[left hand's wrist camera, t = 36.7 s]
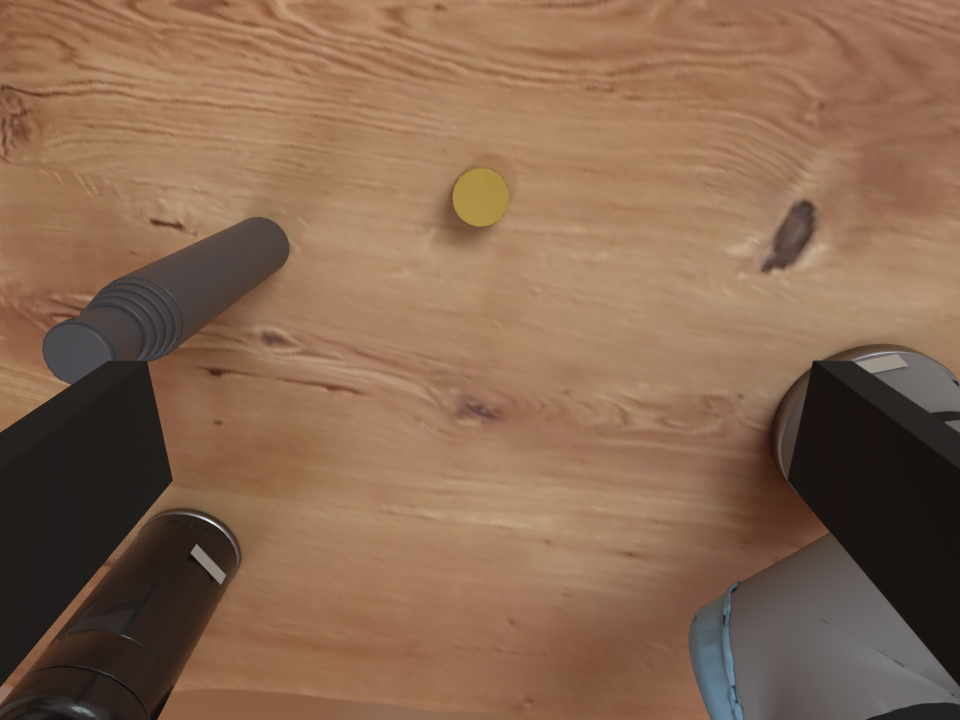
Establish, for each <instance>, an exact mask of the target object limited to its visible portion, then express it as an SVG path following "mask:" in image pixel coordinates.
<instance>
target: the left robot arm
mask: <svg viewBox="0 0 960 720" xmlns="http://www.w3.org/2000/svg"><path fill="white" fill-rule="evenodd" d="M771 448H772V454H773V458H774V461H775V464H776V466H777V468H778V470H779V472H780V473H781V475H782V476H783V477H784V479H785V480H786V481H787V482H788V483H789V485H790V486H791V487H792V488H793V489H794V491H795V492H796V493H797V494H798V495H799V496H801V498H802V499H803V500H804V501H805V502H806V504H807V505H808V506H809V507H810V508H811V510H812V511H813V512H814V513H815V514H816V516H817V517H818V518H819V519H820V520H821V522H822V523H823V524H824V525H825V526H826V527H827V529H828V530H829V531H830V533H828V534H826V535H825V536H823V537H821V538H819V539H817V540H816V541H814V542H812V543H810V544H809V545H807V546H805V547H803V548H801V549H800V550H798V551H796V552H794V553H793V554H791V555H789V556H787V557H785V558H784V559H782V560H780V561H778V562H776V563H775V564H773V565H771V566H769V567H768V568H766V569H764V570H762V571H760V572H759V573H757V574H755V575H753V576H751V577H750V578H748V579H746V580H744V581H743V582H739V581H738V582H736V583H734V584H732V585H731V586H730V587H729V588H728V590H727V592H725V593H724V594H722V595H721V596H719V597H718V598H716V599H715V600H713V601H711V602H710V603H708V604H707V605H705V606H704V607H702V608H701V609H699V610H698V611H697V613H696V614H695V615H694V617H693V619H692V622H691V625H690V631H689V651H690V657H691V662H692V666H693V670H694V674H695V677H696V681H697V684H698V687H699V690H700V693H701V695H702V698H703V701H704V703H705V706H706V708H707V711H708V714H709V716H710V718H711V720H960V382H959V381H958V379H957V378H956V377H955V375H954V374H953V373H952V372H951V371H950V370H948V369H947V368H946V367H945V366H943V365H942V364H940V363H938V362H937V361H935V360H933V359H931V358H930V357H928V356H926V355H924V354H922V353H920V352H918V351H916V350H913V349H910V348H907V347H903V346H898V345H890V344H876V345H867V346H861V347H857V348H853V349H849V350H847V351H844V352H841V353H839V354H836V355H834V356H832V357H830V358H828V359H826V360H824V361H813V364H812V368H811V370H810V371H808V372H807V373H806V374H805V375H804V376H803V377H802V378H801V379H800V380H799V381H798V382H797V383H796V384H795V385H794V386H793V387H792V389H791V390H790V391H789V392H788V394H787V395H786V397H785V398H784V400H783V401H782V403H781V405H780V407H779V409H778V411H777V414H776V416H775V420H774V423H773V427H772V434H771ZM172 481H173V479H172V475H171V470H170V465H169V461H168V456H167V452H166V447H165V442H164V438H163V433H162V428H161V424H160V419H159V414H158V410H157V405H156V401H155V396H154V391H153V387H152V382H151V377H150V373H149V368H148V364H147V361H107V362H105V363H104V364H102V365H101V366H99V367H98V368H96V369H95V370H93V371H92V372H90V373H89V374H87V375H86V376H84V377H83V378H81V379H80V380H78V381H77V382H75V383H74V384H72V385H71V386H69V387H68V388H66V389H65V390H63V391H62V392H60V393H59V394H57V395H56V396H54V397H53V398H51V399H50V400H48V401H47V402H45V403H44V404H42V405H41V406H39V407H38V408H36V409H35V410H33V411H32V412H30V413H29V414H27V415H26V416H24V417H23V418H21V419H20V420H18V421H17V422H15V423H14V424H12V425H11V426H9V427H8V428H6V429H5V430H3V431H2V432H0V687H1V686H2V685H3V683H4V682H5V681H6V680H7V679H8V677H9V676H10V675H11V674H12V673H13V671H14V670H15V669H16V668H17V667H18V665H19V664H20V663H21V662H22V661H23V659H24V658H25V657H26V656H27V655H28V653H29V652H30V651H31V650H32V649H33V647H34V646H35V645H36V644H37V643H38V641H39V640H40V639H41V638H42V637H43V635H44V634H45V633H46V632H47V631H48V629H49V628H50V627H51V626H52V625H53V623H54V622H55V621H56V620H57V619H58V617H59V616H60V615H61V614H62V613H63V611H64V610H65V609H66V608H67V607H68V605H69V604H70V603H71V602H72V601H73V599H74V598H75V597H76V596H77V595H78V593H79V592H80V591H81V590H82V589H83V587H84V586H85V585H86V584H87V583H88V581H89V580H90V579H91V578H92V577H93V575H94V574H95V573H96V572H97V571H98V569H99V568H100V567H101V566H102V565H103V563H104V562H105V561H106V560H107V559H108V557H109V556H110V555H111V554H112V553H113V551H114V550H115V549H116V548H117V547H118V545H119V544H120V543H121V542H122V541H123V539H124V538H125V537H126V536H127V535H128V533H129V532H130V531H131V530H132V529H133V527H134V526H135V525H136V524H137V523H138V522H139V520H140V519H141V518H142V517H143V516H144V514H145V513H146V512H147V511H148V510H149V508H150V507H151V506H152V505H153V504H154V502H155V501H156V500H157V499H158V498H159V496H160V495H161V494H162V493H163V492H164V490H165V489H166V488H167V487H168V486H169V484H170V483H171V482H172Z"/></svg>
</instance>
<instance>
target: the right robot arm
mask: <svg viewBox="0 0 960 720" xmlns="http://www.w3.org/2000/svg"><path fill="white" fill-rule="evenodd" d="M240 562H241V552H240V547H239V544H238V542H237V540H236V538H235V536H234V535H233V533H232V532H231V531H230V530H229V529H228V528H227V527H226V526H225V525H224V524H223V523H222V522H220V521H219V520H217V519H216V518H214V517H212V516H210V515H208V514H206V513H203V512H200V511H196V510H191V509H172V510H167V511H164V512H161V513H159V514H157V515H155V516H154V517H152V518H151V519H150V520H149V521H148V522H147V523H146V524H145V525H144V526H143V527H142V529H141V530H140V532H139V534H138V536H137V537H136V538H135V539H134V540H133V542H132V543H131V544H130V545H129V547H128V548H127V549H126V550H125V551H124V553H123V554H122V555H121V556H120V557H119V559H118V560H117V561H116V562H115V564H114V565H113V566H112V567H111V569H110V570H109V571H108V572H107V574H106V575H105V576H104V577H103V578H102V580H101V581H100V582H99V583H98V585H97V586H96V587H95V588H94V590H93V591H92V592H91V593H90V595H89V596H88V597H87V598H86V599H85V601H84V602H83V603H82V604H81V606H80V607H79V608H78V609H77V611H76V612H75V613H74V614H73V616H72V617H71V618H70V619H69V620H68V622H67V623H66V624H65V625H64V627H63V628H62V629H61V630H60V632H59V633H58V634H57V635H56V637H55V638H54V639H53V640H52V641H51V643H50V644H49V645H48V647H47V648H46V649H45V650H44V652H43V653H42V654H41V655H40V657H39V658H38V659H37V660H36V662H35V663H34V664H33V665H32V667H31V668H30V669H29V670H28V671H27V673H26V674H25V675H24V676H23V678H22V679H21V680H20V681H19V683H18V684H17V685H16V686H15V687H14V689H13V690H12V691H11V692H10V694H9V695H8V696H7V697H6V698H5V700H4V701H3V702H2V703H1V704H0V720H157V719H158V717H159V715H160V713H161V711H162V709H163V708H164V706H165V704H166V701H167V699H168V698H169V696H170V694H171V692H172V690H173V688H174V686H175V685H176V683H177V681H178V679H179V677H180V675H181V673H182V671H183V669H184V668H185V666H186V664H187V662H188V660H189V658H190V656H191V654H192V653H193V651H194V649H195V647H196V645H197V643H198V641H199V639H200V638H201V636H202V634H203V632H204V630H205V628H206V626H207V624H208V622H209V621H210V619H211V617H212V615H213V613H214V611H215V609H216V607H217V606H218V604H219V602H220V600H221V598H222V597H223V595H224V593H225V591H226V589H227V587H228V585H229V583H230V582H231V581H232V579H233V578H234V576H235V574H236V573H237V571H238V569H239V566H240Z"/></svg>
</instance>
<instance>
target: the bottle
mask: <svg viewBox="0 0 960 720" xmlns="http://www.w3.org/2000/svg"><path fill="white" fill-rule="evenodd" d="M288 254H289V243H288V239H287V237H286V235H285V233H284V231H283V230H282V229H281V228H280V227H279V226H278V225H277V224H276V223H274V222H273V221H271V220H269V219H266V218H261V217H254V218H249V219H247V220H245V221H242V222H240V223H238V224H236V225H234V226H231V227H229V228H227V229H225V230H223V231H221V232H218V233H216V234H214V235H212V236H210V237H208V238H205V239H203V240H201V241H199V242H197V243H195V244H192V245H190V246H188V247H186V248H184V249H181V250H179V251H177V252H175V253H173V254H171V255H168V256H166V257H164V258H162V259H160V260H158V261H155V262H153V263H151V264H149V265H147V266H144V267H142V268H140V269H138V270H136V271H134V272H131V273H129V274H127V275H125V276H123V277H121V278H118V279H116V280H114V281H112V282H111V283H109V284H108V285H107V286H106V287H104V288H103V289H102V290H100V291H99V293H98V294H97V295H96V296H95V297H94V298H93V299H92V301H91V302H90V303H89V304H88V305H87V306H86V308H84V309H83V311H82V312H81V314H80V315H79V316H78V317H76V318H73V319H67V320H65V321H63V322H61V323H59V324H57V325H55V326H53V327H52V328H51V329H50V330H49V331H48V332H47V333H46V336H45V338H44V340H43V349H42V351H43V355H44V360H45V362H46V364H47V365H48V368H49V369H50V370H51V371H52V373H53V374H54V375H55V376H56V377H57V378H59V379H60V380H61V381H65V382H66V383H68V384H71V385H72V384H74V383H75V382H77V381H78V380H80V379H81V378H83V377H84V376H86V375H87V374H89V373H90V372H92V371H93V370H95V369H96V368H98V367H99V366H101V365H102V364H104V363H105V362H107V361H147V362H149V361H153V360H156V359H159V358H161V357H163V356H164V355H167V354H169V353H170V352H172V351H173V350H175V349H176V348H177V347H178V346H180V345H181V344H182V343H184V342H185V341H186V340H187V339H189V338H190V337H191V336H193V335H194V334H195V333H196V332H198V331H199V330H200V329H202V328H203V327H204V326H205V325H207V324H208V323H209V322H211V321H212V320H213V319H214V318H216V317H217V316H218V315H220V314H221V313H222V312H224V311H225V310H226V309H227V308H229V307H230V306H231V305H233V304H234V303H235V302H236V301H238V300H239V299H240V298H242V297H243V296H244V295H245V294H247V293H248V292H249V291H251V290H252V289H253V288H254V287H256V286H257V285H258V284H260V283H261V282H262V281H263V280H265V279H266V278H267V277H269V276H270V275H271V274H272V273H274V272H275V271H276V270H278V269H279V268H280V267H281V266H282V265H283V264H284V263H285V261H286V260H287V257H288Z"/></svg>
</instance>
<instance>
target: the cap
mask: <svg viewBox="0 0 960 720" xmlns="http://www.w3.org/2000/svg"><path fill="white" fill-rule="evenodd" d="M452 199H453V205H454V206H453V207H454V208H455V211H456V213H457V214H458V216H459V217H460V218H461V219H462V220H463V221H465V222H466V223H468V224H470V225H473V226H478V227H483V226H488V225H491V224H493V223H495V222H497V221H498V220H499V219H500V218H501V217H502V216H503V215H504V213H505V211H506V209H507V206H508V202H509V194H508V187H507V185H506V184H505V181H504V179H503V177H501V176H500V175H499V174H498V173H497V172H496V170H495V171H494V170H492V169H490V168H487V166H486V167H477V166H476V167H474V168H471V169H469V170H468V169H467V170H466V171H465V172H464V173H463V174H462V175H461V176H459V178H458V180H457V182H456V184H454V190H453V194H452Z"/></svg>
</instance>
